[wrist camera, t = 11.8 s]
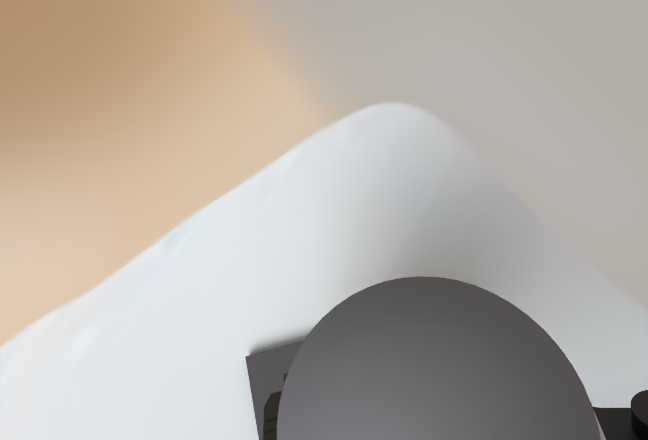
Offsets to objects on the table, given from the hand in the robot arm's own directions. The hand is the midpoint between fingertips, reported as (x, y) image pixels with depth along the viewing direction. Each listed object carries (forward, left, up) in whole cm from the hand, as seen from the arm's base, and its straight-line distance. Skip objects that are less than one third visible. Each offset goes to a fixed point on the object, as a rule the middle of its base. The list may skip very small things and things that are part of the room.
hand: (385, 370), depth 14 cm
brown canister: (0, +2, -6) cm, 6 cm away
